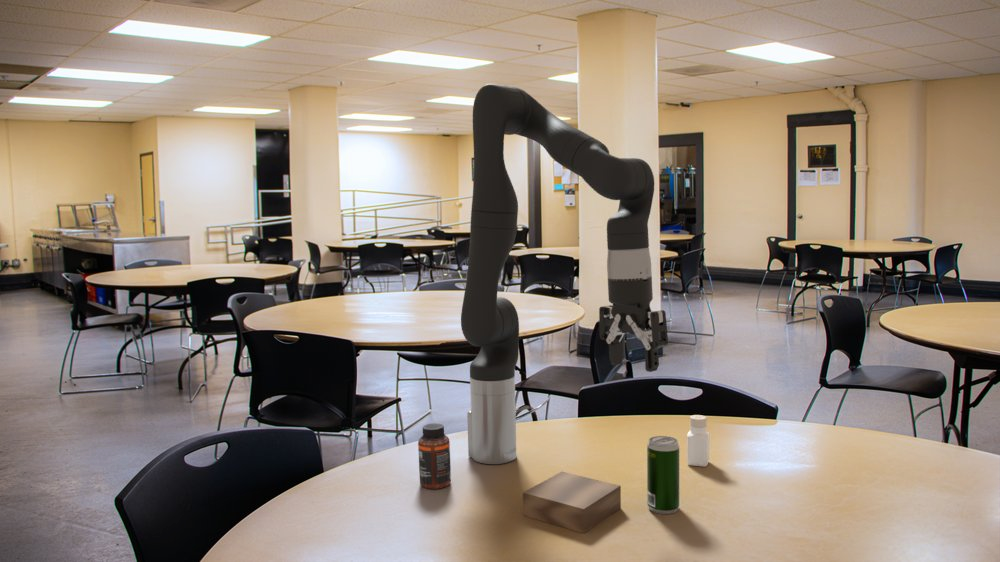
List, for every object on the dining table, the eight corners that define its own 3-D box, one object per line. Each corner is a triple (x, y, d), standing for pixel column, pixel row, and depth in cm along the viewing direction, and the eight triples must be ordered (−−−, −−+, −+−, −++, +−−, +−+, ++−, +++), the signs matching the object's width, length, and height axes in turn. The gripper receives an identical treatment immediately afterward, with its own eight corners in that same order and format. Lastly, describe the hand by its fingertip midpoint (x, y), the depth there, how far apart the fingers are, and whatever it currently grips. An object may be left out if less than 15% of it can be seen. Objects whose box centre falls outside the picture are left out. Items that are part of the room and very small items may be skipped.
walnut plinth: (523, 515, 127) (522, 492, 127) (562, 492, 137) (561, 471, 136) (584, 533, 120) (583, 509, 119) (620, 508, 129) (620, 485, 129)
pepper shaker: (686, 465, 149) (686, 419, 148) (689, 459, 153) (689, 413, 152) (707, 468, 147) (707, 420, 146) (709, 461, 151) (709, 415, 150)
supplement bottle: (456, 481, 144) (455, 423, 142) (441, 492, 138) (439, 432, 137) (429, 476, 146) (427, 420, 145) (413, 487, 141) (411, 428, 140)
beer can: (663, 517, 125) (663, 447, 124) (640, 507, 129) (640, 439, 128) (686, 509, 128) (686, 441, 127) (662, 499, 132) (662, 433, 131)
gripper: (585, 275, 133) (590, 365, 135) (644, 278, 122) (648, 377, 123) (616, 271, 137) (620, 359, 139) (675, 274, 126) (679, 369, 127)
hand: (633, 367), depth 131 cm, fingers open, 8 cm apart
